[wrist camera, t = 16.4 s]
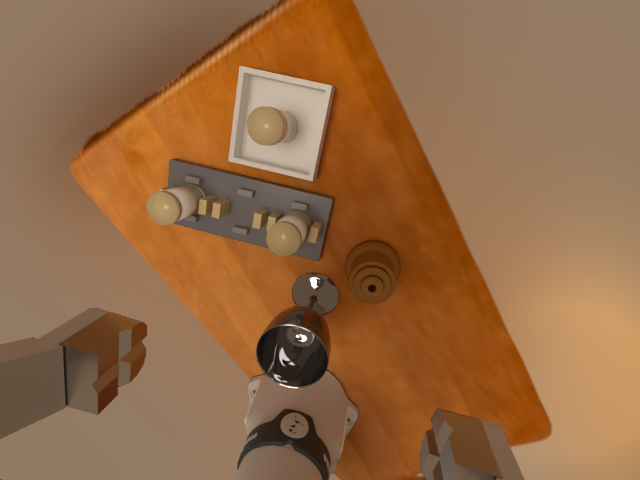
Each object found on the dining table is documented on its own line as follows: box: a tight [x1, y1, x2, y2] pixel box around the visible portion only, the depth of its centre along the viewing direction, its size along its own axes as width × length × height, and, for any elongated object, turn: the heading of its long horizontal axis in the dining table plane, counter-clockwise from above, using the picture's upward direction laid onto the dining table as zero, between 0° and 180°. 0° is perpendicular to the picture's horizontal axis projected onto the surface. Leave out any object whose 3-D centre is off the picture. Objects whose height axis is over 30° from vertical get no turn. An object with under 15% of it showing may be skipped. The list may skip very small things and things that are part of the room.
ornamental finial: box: [345, 241, 400, 304], centre depth 43 cm, size 8×8×8 cm
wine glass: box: [256, 273, 339, 388], centre depth 43 cm, size 8×8×15 cm
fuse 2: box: [266, 210, 312, 257], centre depth 42 cm, size 4×4×8 cm
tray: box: [228, 66, 335, 181], centre depth 42 cm, size 11×11×3 cm
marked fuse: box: [247, 106, 298, 146], centre depth 39 cm, size 4×4×8 cm
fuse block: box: [160, 159, 334, 261], centre depth 45 cm, size 9×23×4 cm, turn 77°
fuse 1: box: [146, 184, 207, 225], centre depth 43 cm, size 4×4×8 cm
